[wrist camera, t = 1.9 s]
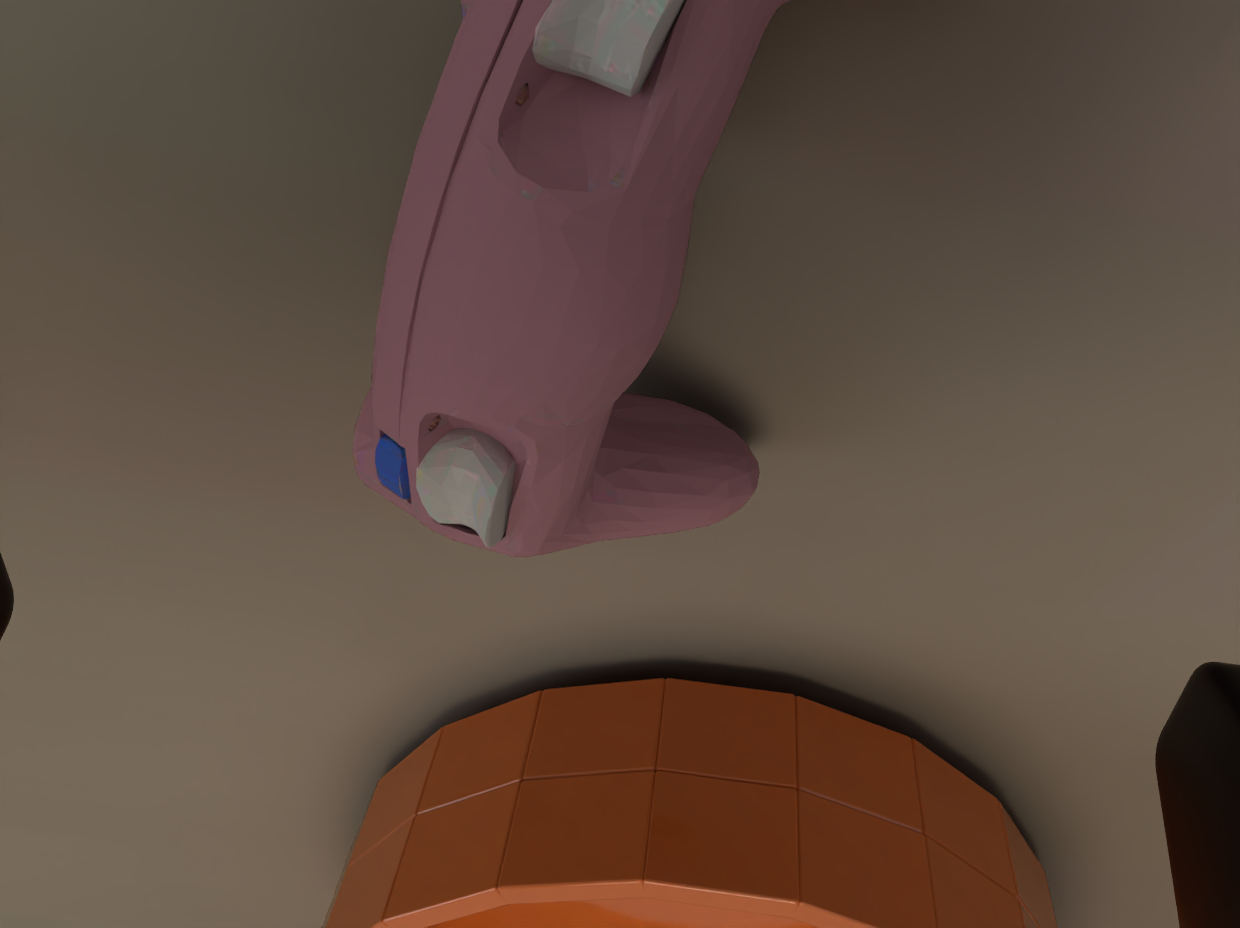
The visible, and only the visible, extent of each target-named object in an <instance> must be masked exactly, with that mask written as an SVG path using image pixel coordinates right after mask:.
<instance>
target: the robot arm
mask: <svg viewBox="0 0 1240 928" xmlns="http://www.w3.org/2000/svg"><path fill="white" fill-rule="evenodd" d="M13 604H14V595H13V588H12V584H11V581H10V579H9V576H8V573H7V570H6V567H5V564H4V561H3V559H2V556H1V553H0V640H1V638H2V636H3V634H4V632H5V630H6V628H7V626H8V623H9V621H10V618H11V615H12V611H13ZM1156 773H1157V780H1158V787H1159V793H1160V800H1161V806H1162V813H1163V820H1164V826H1165V833H1166V839H1167V846H1168V853H1169V859H1170V866H1171V872H1172V879H1173V886H1174V892H1175V899H1176V905H1177V912H1178V919H1179V925H1180V928H1240V665H1236V664H1228V663H1220V662H1209V663H1204V664H1202V665H1201V666H1199V667H1198V668H1197V669H1196V670H1195V671H1194V672H1193V674H1192V675H1191V677H1190V679H1189V681H1188V683H1187V684H1186V686H1185V688H1184V690H1183V692H1182V694H1181V696H1180V698H1179V700H1178V701H1177V703H1176V705H1175V707H1174V709H1173V711H1172V713H1171V715H1170V717H1169V718H1168V720H1167V722H1166V724H1165V726H1164V728H1163V730H1162V732H1161V734H1160V737H1159V739H1158V743H1157V748H1156Z"/></svg>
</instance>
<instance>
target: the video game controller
mask: <svg viewBox="0 0 1240 928" xmlns="http://www.w3.org/2000/svg"><path fill="white" fill-rule="evenodd" d="M789 1H792V0H462V2H461V8H462V15H463V22H462V24H461V26H460V28H459V30H458V33H457V35H456V38H455V40H454V43H453V46H452V49H451V51H450V54H449V57H448V60H447V62H446V65H445V68H444V71H443V73H442V76H441V79H440V81H439V84H438V87H437V90H436V92H435V95H434V98H433V101H432V103H431V106H430V109H429V112H428V114H427V117H426V120H425V123H424V125H423V128H422V131H421V133H420V136H419V139H418V142H417V145H416V149H415V153H414V157H413V160H412V164H411V168H410V172H409V176H408V179H407V183H406V187H405V191H404V194H403V198H402V202H401V206H400V210H399V213H398V217H397V221H396V225H395V228H394V232H393V236H392V240H391V244H390V247H389V251H388V257H387V263H386V270H385V276H384V282H383V288H382V294H381V301H380V307H379V313H378V319H377V326H376V335H375V345H374V356H373V366H372V376H371V380H372V387H371V388H370V390H369V392H368V394H367V396H366V398H365V400H364V403H363V405H362V408H361V411H360V414H359V416H358V419H357V422H356V425H355V432H354V442H353V458H354V464H355V469H356V472H357V475H358V476H359V477H360V478H361V480H362V481H363V482H364V483H365V484H366V486H368V487H370V488H371V489H373V490H374V491H376V492H377V493H379V494H380V495H382V496H383V497H385V498H386V499H388V500H389V501H391V502H392V503H394V504H395V505H397V506H398V507H400V508H401V509H403V510H404V511H406V512H408V513H409V514H411V515H412V516H414V517H415V518H417V519H418V520H419V521H420V522H421V523H422V524H423V525H425V526H426V527H428V528H430V529H431V530H432V531H435V532H437V533H439V534H441V535H443V536H446V537H448V538H450V539H452V540H455V541H458V542H462V543H465V544H469V545H473V546H476V547H480V548H483V549H487V550H491V551H494V552H498V553H501V554H505V555H509V556H513V557H529V556H536V555H542V554H548V553H552V552H556V551H560V550H564V549H568V548H572V547H576V546H580V545H584V544H588V543H592V542H597V541H602V540H611V539H620V538H630V537H639V536H648V535H657V534H666V533H674V532H679V531H684V530H689V529H694V528H700V527H705V526H710V525H712V524H715V523H717V522H720V521H721V520H723V519H725V518H726V517H728V516H730V515H731V514H733V513H734V512H736V511H738V510H739V509H741V508H742V507H743V505H744V504H745V503H746V502H747V501H748V500H749V499H750V497H751V496H752V494H753V493H754V492H755V490H756V488H757V483H758V478H759V466H758V462H757V460H756V458H755V457H754V455H753V453H752V452H751V450H750V448H749V447H748V445H747V444H746V443H745V442H744V441H743V440H742V439H741V438H740V437H739V436H738V434H737V433H736V432H735V431H734V430H733V429H729V428H728V427H726V426H725V425H723V424H722V423H720V422H719V421H718V420H716V419H715V418H713V417H712V416H710V415H709V414H706V413H704V412H701V411H699V410H696V409H693V408H691V407H688V406H685V405H682V404H680V403H677V402H674V401H669V400H664V399H659V398H654V397H649V396H644V395H639V394H632V393H626V392H624V391H625V390H626V389H627V388H628V387H629V386H630V385H631V384H632V382H633V381H634V380H635V379H636V378H637V377H638V376H639V374H640V373H641V371H642V370H643V368H644V367H645V365H646V364H647V362H648V361H649V359H650V358H651V356H652V355H653V353H654V352H655V350H656V348H657V347H658V345H659V343H660V340H661V338H662V336H663V334H664V332H665V330H666V327H667V325H668V323H669V321H670V318H671V316H672V314H673V311H674V309H675V307H676V304H677V301H678V296H679V291H680V286H681V280H682V275H683V270H684V265H685V259H686V254H687V249H688V244H689V236H690V229H691V221H692V214H693V206H694V199H695V193H696V191H697V188H698V186H699V184H700V182H701V179H702V177H703V175H704V173H705V170H706V168H707V166H708V163H709V161H710V159H711V157H712V154H713V152H714V150H715V148H716V145H717V143H718V141H719V139H720V136H721V134H722V132H723V129H724V127H725V125H726V123H727V120H728V118H729V116H730V114H731V111H732V109H733V107H734V104H735V102H736V100H737V97H738V95H739V92H740V90H741V87H742V85H743V82H744V80H745V77H746V75H747V72H748V70H749V68H750V65H751V63H752V60H753V58H754V55H755V53H756V50H757V48H758V45H759V43H760V40H761V38H762V36H763V33H764V31H765V29H766V27H767V25H768V24H769V22H770V20H771V19H772V17H773V15H774V14H775V12H776V10H777V8H778V7H779V6H781V5H782V4H783V3H786V2H789Z"/></svg>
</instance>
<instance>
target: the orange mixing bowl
mask: <svg viewBox="0 0 1240 928" xmlns="http://www.w3.org/2000/svg"><path fill="white" fill-rule="evenodd" d="M322 928H1057V924H1056V919H1055V915H1054V910H1053V906H1052V902H1051V897H1050V893H1049V888H1048V884H1047V879H1046V875H1045V871H1044V869H1043V867H1042V866H1041V864H1040V863H1039V861H1038V860H1037V858H1036V857H1035V855H1034V853H1033V852H1032V850H1031V849H1030V847H1029V846H1028V844H1027V843H1026V841H1025V840H1024V838H1023V836H1022V835H1021V833H1020V832H1019V830H1018V829H1017V827H1016V826H1015V824H1014V823H1013V821H1012V820H1011V818H1010V816H1009V815H1008V813H1007V812H1006V810H1005V809H1004V807H1003V806H1002V804H1001V803H1000V801H998V800H997V798H996V797H995V796H993V795H992V794H991V793H989V792H988V791H986V790H985V789H984V788H982V787H981V786H979V785H978V784H977V783H975V782H974V781H972V780H971V779H970V778H968V777H967V776H966V775H964V774H963V773H961V772H960V771H959V770H957V769H956V768H954V767H953V766H952V765H950V764H949V763H948V762H946V761H945V760H943V759H942V758H941V757H939V756H938V755H936V754H935V753H934V752H932V751H931V750H929V749H928V748H927V747H925V746H924V745H923V744H921V743H920V742H918V741H917V740H916V739H911V738H910V737H909V736H907V735H904V734H901V733H899V732H896V731H893V730H890V729H888V728H885V727H882V726H880V725H877V724H874V723H871V722H869V721H866V720H863V719H861V718H858V717H855V716H853V715H850V714H847V713H844V712H842V711H839V710H836V709H834V708H831V707H828V706H825V705H823V704H820V703H817V702H815V701H812V700H809V699H806V698H804V697H801V696H796V697H795V695H794V694H791V693H783V692H775V691H767V690H760V689H752V688H744V687H736V686H728V685H721V684H713V683H705V682H697V681H690V680H682V679H674V678H666V680H665V679H664V678H655V679H645V680H634V681H624V682H614V683H603V684H593V685H582V686H572V687H561V688H551V689H545V690H543V691H541V690H539V691H536V692H533V693H531V694H528V695H525V696H523V697H520V698H517V699H515V700H512V701H509V702H506V703H504V704H501V705H498V706H496V707H493V708H490V709H488V710H485V711H482V712H479V713H477V714H474V715H471V716H469V717H466V718H463V719H461V720H458V721H455V722H452V723H450V724H447V725H446V726H445V727H441V728H440V729H439V730H438V731H436V732H435V733H434V734H433V735H432V736H430V737H429V738H428V739H427V740H426V741H425V742H423V743H422V744H421V745H420V746H419V747H417V748H416V749H415V750H414V751H413V752H411V753H410V754H409V755H408V756H407V757H406V758H404V759H403V760H402V761H401V762H400V763H398V764H397V765H396V766H395V767H394V768H392V769H391V770H390V771H389V772H388V773H386V774H385V775H384V776H383V777H382V778H381V779H380V780H379V781H378V783H377V786H376V788H375V790H374V793H373V795H372V797H371V800H370V802H369V805H368V807H367V809H366V812H365V814H364V816H363V819H362V821H361V824H360V826H359V828H358V831H357V833H356V835H355V838H354V840H353V843H352V846H351V848H350V851H349V854H348V857H347V859H346V862H345V865H344V868H343V870H342V873H341V876H340V879H339V882H338V884H337V887H336V890H335V893H334V895H333V898H332V901H331V904H330V906H329V909H328V912H327V915H326V917H325V920H324V923H323V926H322Z"/></svg>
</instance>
